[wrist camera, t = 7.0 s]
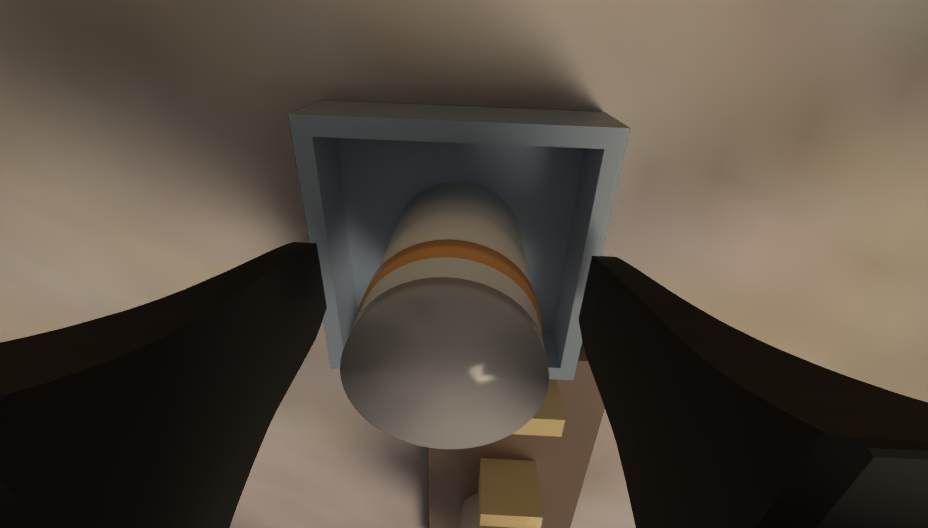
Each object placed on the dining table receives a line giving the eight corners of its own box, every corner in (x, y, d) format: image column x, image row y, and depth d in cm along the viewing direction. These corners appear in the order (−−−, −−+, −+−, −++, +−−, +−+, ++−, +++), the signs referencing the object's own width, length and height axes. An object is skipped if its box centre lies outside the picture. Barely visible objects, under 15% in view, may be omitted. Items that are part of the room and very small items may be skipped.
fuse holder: (431, 531, 22) (424, 602, 20) (429, 339, 16) (418, 404, 13) (559, 538, 22) (570, 610, 19) (611, 347, 16) (640, 416, 13)
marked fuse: (399, 294, 14) (352, 448, 9) (388, 179, 12) (319, 291, 7) (518, 296, 14) (541, 453, 9) (527, 180, 12) (564, 295, 7)
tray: (350, 325, 16) (330, 368, 14) (321, 100, 12) (287, 113, 10) (561, 335, 15) (573, 380, 13) (604, 111, 11) (630, 128, 9)
